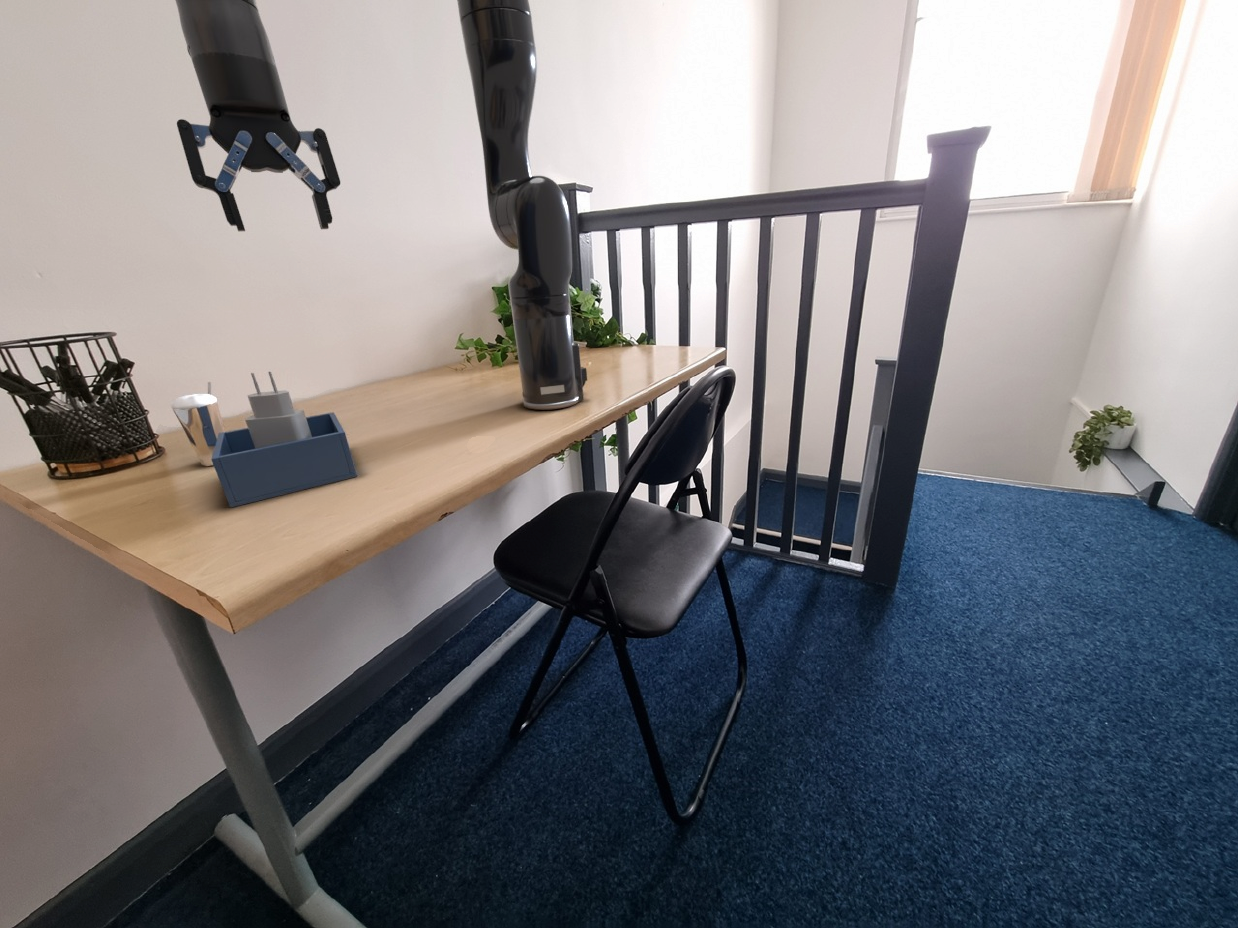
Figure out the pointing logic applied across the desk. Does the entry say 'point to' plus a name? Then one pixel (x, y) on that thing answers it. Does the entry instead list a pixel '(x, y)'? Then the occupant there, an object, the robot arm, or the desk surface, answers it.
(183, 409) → the milkshake
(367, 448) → the desk surface
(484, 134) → the robot arm
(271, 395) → the power adapter
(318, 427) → the basket
